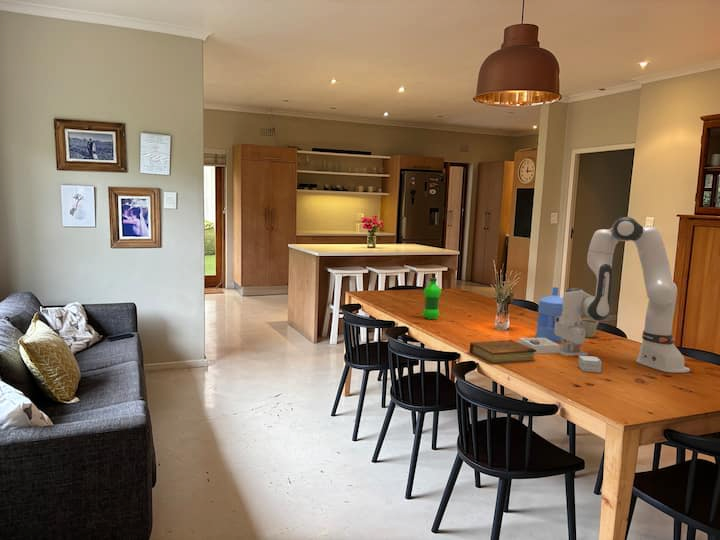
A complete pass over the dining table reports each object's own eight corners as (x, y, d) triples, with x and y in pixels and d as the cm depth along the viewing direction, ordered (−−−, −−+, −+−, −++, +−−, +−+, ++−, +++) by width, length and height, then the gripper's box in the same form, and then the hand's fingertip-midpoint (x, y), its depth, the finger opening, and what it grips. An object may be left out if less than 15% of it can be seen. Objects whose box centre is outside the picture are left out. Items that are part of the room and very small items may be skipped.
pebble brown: (579, 352, 255) (580, 344, 254) (573, 352, 254) (574, 344, 254) (575, 350, 258) (575, 342, 258) (569, 350, 258) (570, 342, 257)
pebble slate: (572, 352, 254) (573, 344, 254) (566, 352, 253) (567, 344, 253) (568, 350, 258) (569, 342, 257) (562, 350, 257) (563, 342, 256)
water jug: (539, 334, 292) (543, 284, 288) (569, 338, 284) (573, 287, 280) (532, 339, 278) (537, 287, 275) (563, 344, 270) (568, 291, 267)
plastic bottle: (440, 320, 315) (443, 279, 312) (422, 320, 315) (425, 279, 312) (438, 317, 325) (440, 277, 322) (421, 316, 325) (423, 276, 322)
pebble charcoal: (539, 349, 255) (539, 341, 254) (533, 349, 254) (533, 341, 253) (535, 347, 258) (535, 339, 258) (529, 347, 257) (529, 340, 257)
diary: (509, 351, 256) (510, 339, 255) (535, 362, 238) (536, 350, 237) (469, 353, 248) (470, 341, 247) (492, 365, 230) (493, 352, 229)
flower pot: (599, 339, 286) (600, 323, 285) (580, 337, 288) (582, 322, 287) (595, 335, 295) (596, 320, 294) (577, 333, 297) (578, 318, 296)
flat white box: (559, 354, 251) (560, 345, 251) (532, 354, 248) (533, 345, 248) (543, 346, 265) (544, 337, 264) (518, 346, 262) (518, 337, 261)
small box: (577, 366, 233) (578, 355, 232) (596, 367, 232) (597, 356, 231) (582, 371, 225) (583, 360, 225) (601, 373, 224) (602, 361, 224)
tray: (588, 356, 250) (588, 353, 250) (564, 356, 247) (564, 353, 247) (571, 348, 264) (571, 345, 263) (547, 348, 261) (547, 346, 261)
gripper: (589, 326, 244) (587, 354, 246) (564, 316, 264) (561, 343, 266) (577, 326, 243) (575, 355, 245) (553, 316, 263) (550, 343, 264)
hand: (567, 349), depth 255 cm, fingers closed on pebble slate, 4 cm apart
